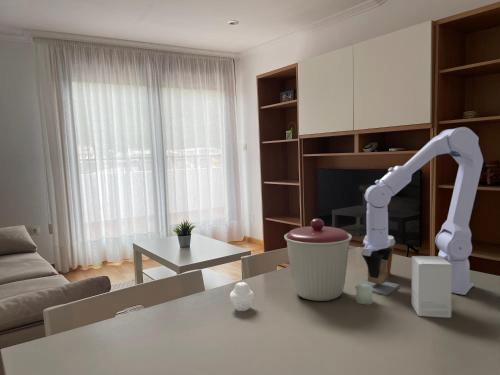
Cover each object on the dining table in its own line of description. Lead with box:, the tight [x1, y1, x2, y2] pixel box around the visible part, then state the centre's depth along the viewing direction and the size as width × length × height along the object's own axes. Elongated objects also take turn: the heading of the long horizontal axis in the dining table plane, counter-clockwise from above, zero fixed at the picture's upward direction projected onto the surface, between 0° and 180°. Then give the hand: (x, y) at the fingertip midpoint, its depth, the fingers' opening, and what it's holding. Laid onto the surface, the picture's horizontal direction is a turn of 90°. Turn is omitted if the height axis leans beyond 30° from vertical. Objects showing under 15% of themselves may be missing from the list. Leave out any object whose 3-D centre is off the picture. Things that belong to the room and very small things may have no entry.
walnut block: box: [367, 259, 388, 285], centre depth 107 cm, size 4×4×6 cm
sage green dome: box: [355, 283, 373, 305], centre depth 98 cm, size 4×4×4 cm
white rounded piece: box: [229, 281, 255, 312], centre depth 95 cm, size 6×6×7 cm
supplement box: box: [410, 255, 452, 319], centre depth 90 cm, size 7×7×13 cm
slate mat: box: [360, 278, 401, 297], centre depth 107 cm, size 9×9×1 cm
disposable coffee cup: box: [363, 234, 396, 278], centre depth 118 cm, size 10×10×12 cm
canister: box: [283, 218, 353, 302], centre depth 103 cm, size 18×18×21 cm
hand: (377, 275), depth 107 cm, fingers closed on walnut block, 4 cm apart
